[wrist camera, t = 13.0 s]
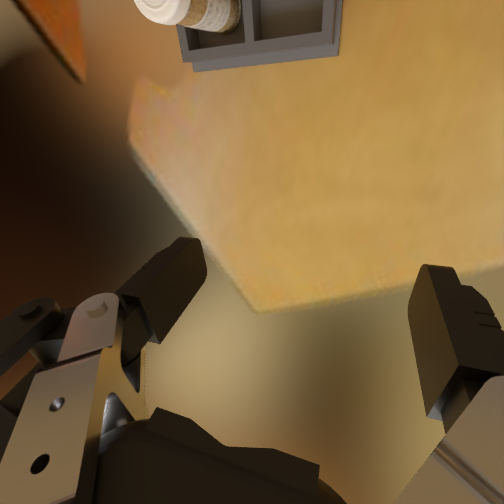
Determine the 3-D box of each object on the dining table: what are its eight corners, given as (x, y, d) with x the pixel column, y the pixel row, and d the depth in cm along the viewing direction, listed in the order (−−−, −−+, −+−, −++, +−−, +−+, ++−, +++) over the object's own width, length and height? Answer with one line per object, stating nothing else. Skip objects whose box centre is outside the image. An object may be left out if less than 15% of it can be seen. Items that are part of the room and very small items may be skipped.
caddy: (350, -99, 23) (349, -124, 20) (338, 55, 29) (335, 55, 26) (177, -50, 29) (155, -63, 26) (197, 71, 35) (181, 72, 32)
